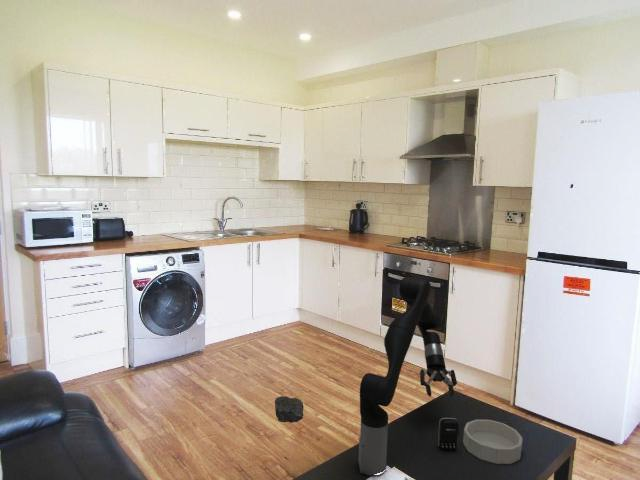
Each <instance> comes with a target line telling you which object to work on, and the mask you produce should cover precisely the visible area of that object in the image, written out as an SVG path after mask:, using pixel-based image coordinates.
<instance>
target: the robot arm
mask: <svg viewBox="0 0 640 480" xmlns="http://www.w3.org/2000/svg"><path fill="white" fill-rule="evenodd" d="M431 288H432V284H431V283H430V281H429V280H428V279H424V278H420V277H419V278H417V277H412V276H404V277H403V278H402V279H401V280H400V282H399V290H398V292H399V296H400V298H401V299H402V300H403V301H405V303H406V304H407V305H408V306H410V307H409V308H408V309H406V311H404V312H403V313H401V314H400V315H398V316H397V317H396V318H394V319H393V320H392V321H391V322H390V324H389V326H388V329H387V331H386V332H385V336H384V338H383V345H384V349H385V354H386V357H387V361H388V368H387V372H386V375H385V376H383V375H380V374H376V373H372V372H367V373H365V374H364V375H363V377H362V378H361V381H360V385H359V414H360V431H359V433H360V434H359V435H360V436H359V437H358V461H357V462H358V463H357V464H358V467H359V473H360V474H364V475H367V476H370V477H372V476H371V475H374V474H377V473H380V472H383V471H384V470H385V469H386V470H387V456H388V454H387V452H388V429H389V414H388V411H386V410H385V409H384V408H383V407H388V406H389V405H390V404H391V403H392V400H393V399H394V396H395V392H396V389H397V385H398V382H399V378H400V375H401V370H402V367H403V365H404V362H405V359H406V356H407V354H408V351H409V348H410V347H411V343H412V340H413V337H414V335H415V331H416V329H417V328H418V330H419V332H420V334H421V336H422V341H423V347H424V358H425V364H426V369H424V368H422V369H420V371H419V381H420V386H421V387H422V386H423V387H425V391H426V395H428V397H432V390H431V382H435V383H436V382H440V383H441V382H443V383H444V384H445V385H447V387H448V389H447V390H448V393H449V397H454V394H455V392H454V391H455V390H454V387H456V385H457V384H458V380H457V376H456V373H455V370H454V369H451V370H447V369H446V368H447V367H446V362H445V357H444V352H443V347H442V343H441V337H440V334H439V333H437V332H435V331H430V330H437V329H439V328H440V327H441V326H442V319H441V316H440V314H438V312H437V311H435V310H434V309H432V307H431V304H430V303H429V302H428V299H429V297H430V293H431V290H432V289H431ZM426 375H427V376H428V377H429V378H428V380H427V381H425V380H426V379H425V378H426V377H425V376H426ZM447 375H448V376H449V377H450V378H449V377H448V376H447ZM381 406H382V407H381Z"/></svg>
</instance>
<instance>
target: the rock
mask: <svg viewBox="0 0 640 480" xmlns="http://www.w3.org/2000/svg"><path fill="white" fill-rule="evenodd" d="M274 408H275V416H276V418H277V420H278V422H280V423H298V422H299V421H301V420H302V419H303V418H304V402H303V401H302V400H301V399H299V398H297V397H288V396H284V395H281V396H278V397H276V398H275V399H274Z"/></svg>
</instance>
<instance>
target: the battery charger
mask: <svg viewBox="0 0 640 480" xmlns="http://www.w3.org/2000/svg"><path fill="white" fill-rule="evenodd" d="M438 423H439V424H438V442H437V443H438V444H437V446H438V448H439V449H440V450H443V451H447V450H448V451H456V450H457V449H458V444H457V443H458V436H459V435H460V424H459V421H458V419H457V418H456V417H441V418H440V419H439V422H438Z"/></svg>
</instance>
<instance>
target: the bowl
mask: <svg viewBox="0 0 640 480" xmlns="http://www.w3.org/2000/svg"><path fill="white" fill-rule="evenodd" d="M462 444H463V445H464V447H465V449H466V450H467V452H469V453H470V454H471V455H472V456H474V457H476V458H478V459H480V460H483V461H484V462H489V463H491V464H494V465H495V464H496V465H504V464H505V465H512V464H513V463H515V462H517V461H520V460H521V458H522V457H521V456H522V451H523V450H522V448H523V437H522V435H521V434H520V433H519V432H518V430H517V429H516V428H513V427H512V426H509V425H507V424H505V423H503V422H501V421H500V422H499V421H496V420H493V419H474V420H470V421H468V422H466V423H465V426H464V429H463V443H462Z"/></svg>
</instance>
